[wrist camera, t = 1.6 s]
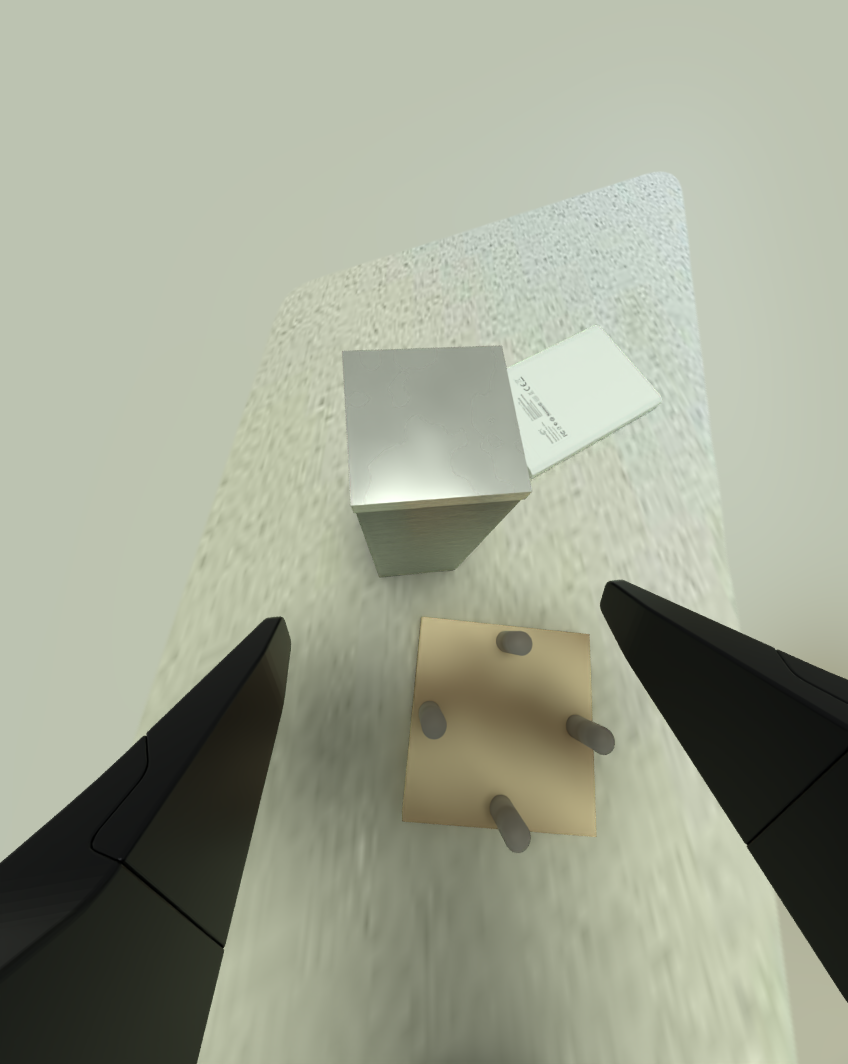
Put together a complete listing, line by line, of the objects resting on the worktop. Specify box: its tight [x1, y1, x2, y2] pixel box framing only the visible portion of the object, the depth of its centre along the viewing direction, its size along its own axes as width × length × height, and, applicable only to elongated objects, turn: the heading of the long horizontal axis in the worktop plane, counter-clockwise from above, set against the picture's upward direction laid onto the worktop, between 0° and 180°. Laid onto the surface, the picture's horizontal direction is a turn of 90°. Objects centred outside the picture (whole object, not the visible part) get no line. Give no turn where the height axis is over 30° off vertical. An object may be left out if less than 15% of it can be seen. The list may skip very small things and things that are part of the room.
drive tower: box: [342, 346, 532, 577], centre depth 16 cm, size 5×5×13 cm
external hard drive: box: [507, 325, 662, 480], centre depth 26 cm, size 2×8×12 cm
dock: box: [402, 617, 615, 853], centre depth 18 cm, size 10×10×4 cm
